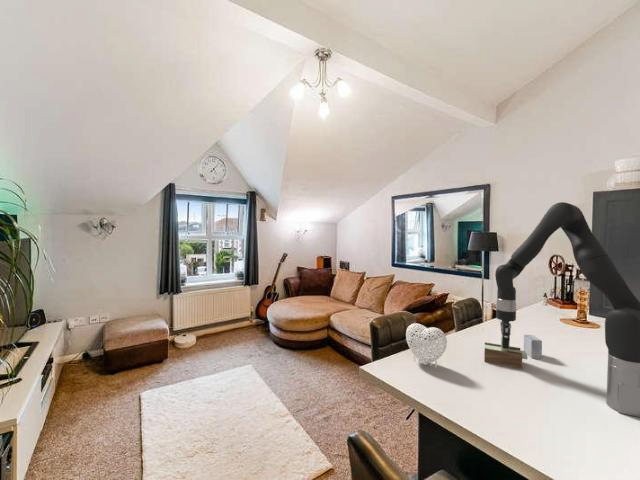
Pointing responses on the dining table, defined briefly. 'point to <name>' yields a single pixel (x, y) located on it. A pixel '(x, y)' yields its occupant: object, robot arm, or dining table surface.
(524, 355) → the lid
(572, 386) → the dining table surface
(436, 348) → the decorative heart
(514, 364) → the box
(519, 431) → the dining table surface
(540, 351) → the medicine box
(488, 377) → the dining table surface
